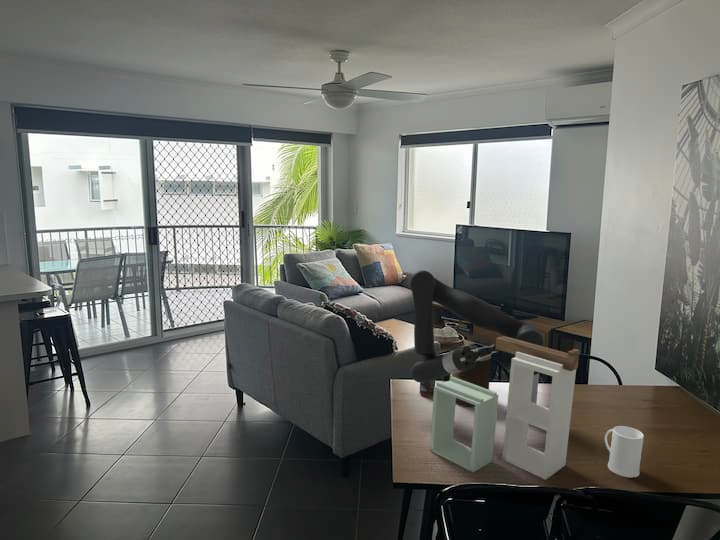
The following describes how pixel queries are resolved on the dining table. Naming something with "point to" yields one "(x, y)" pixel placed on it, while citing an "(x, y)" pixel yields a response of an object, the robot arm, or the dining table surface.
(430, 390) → the supplement bottle
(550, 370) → the shelf stand
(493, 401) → the rest stand
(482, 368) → the wooden container
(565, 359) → the hook bar
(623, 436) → the mug
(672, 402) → the dining table surface
